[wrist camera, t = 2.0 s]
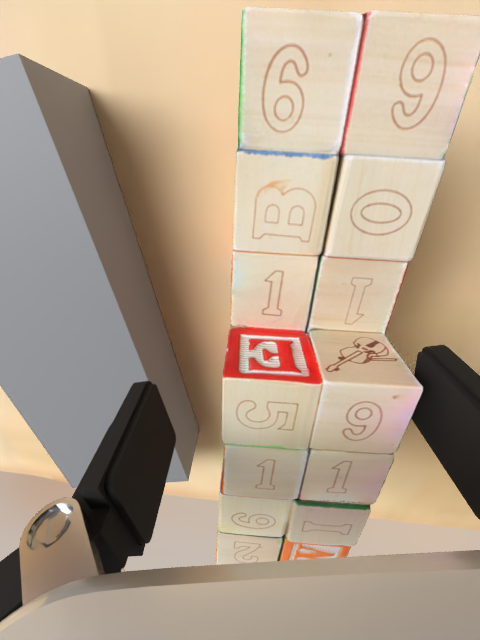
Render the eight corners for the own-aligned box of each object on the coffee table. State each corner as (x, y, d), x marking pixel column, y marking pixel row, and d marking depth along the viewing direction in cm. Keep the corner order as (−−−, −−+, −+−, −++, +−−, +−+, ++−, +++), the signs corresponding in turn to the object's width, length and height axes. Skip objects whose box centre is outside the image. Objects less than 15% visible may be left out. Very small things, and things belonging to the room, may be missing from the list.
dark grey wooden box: (87, 87, 15) (18, 53, 11) (199, 430, 27) (188, 480, 22) (-73, 126, 16) (-195, 109, 12) (101, 437, 28) (72, 487, 24)
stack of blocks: (249, 90, 15) (233, -119, 4) (368, 97, 15) (673, -99, 4) (232, 396, 25) (213, 571, 14) (303, 402, 25) (340, 582, 14)
